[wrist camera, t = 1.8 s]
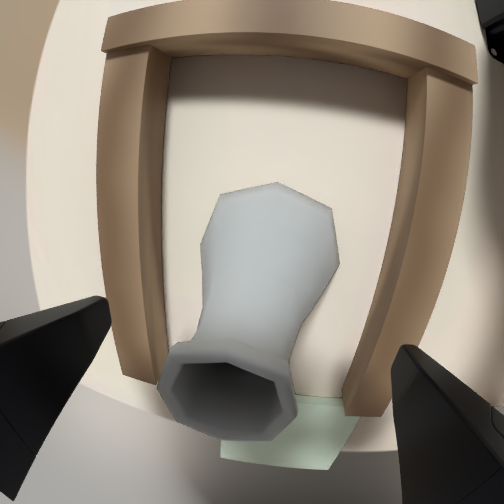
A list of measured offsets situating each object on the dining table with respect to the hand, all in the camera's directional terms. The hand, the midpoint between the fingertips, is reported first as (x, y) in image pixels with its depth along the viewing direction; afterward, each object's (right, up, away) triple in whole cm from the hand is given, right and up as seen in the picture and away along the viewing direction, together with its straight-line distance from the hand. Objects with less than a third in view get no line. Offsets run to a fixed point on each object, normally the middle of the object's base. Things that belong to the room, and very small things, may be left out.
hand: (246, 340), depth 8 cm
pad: (+3, -12, +12) cm, 17 cm away
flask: (+1, +3, +7) cm, 8 cm away
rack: (+1, +4, +7) cm, 8 cm away
